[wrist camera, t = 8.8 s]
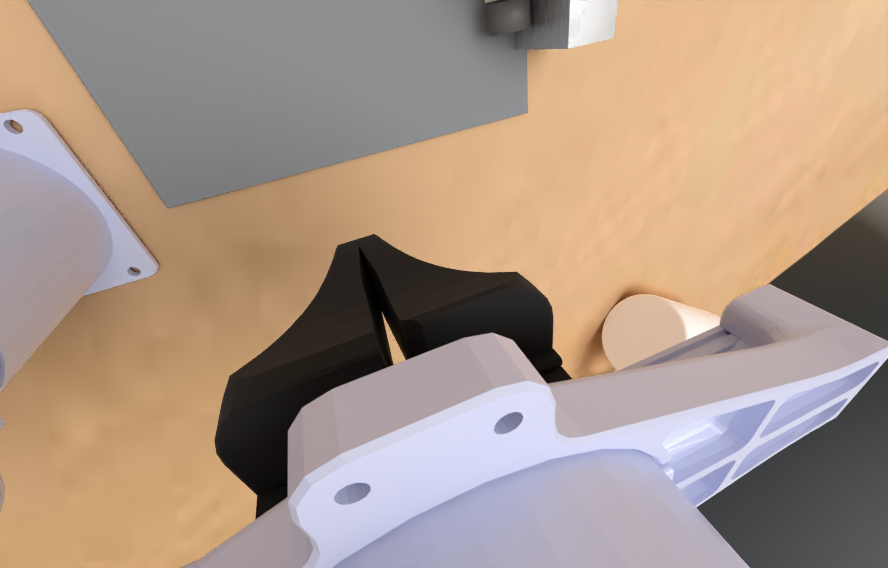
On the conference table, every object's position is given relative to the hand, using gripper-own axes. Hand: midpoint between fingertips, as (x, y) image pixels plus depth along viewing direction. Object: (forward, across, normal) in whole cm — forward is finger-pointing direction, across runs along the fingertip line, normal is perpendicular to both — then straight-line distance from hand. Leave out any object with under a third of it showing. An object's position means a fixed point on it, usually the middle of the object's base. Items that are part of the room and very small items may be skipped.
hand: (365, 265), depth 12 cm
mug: (+10, -24, +24) cm, 35 cm away
